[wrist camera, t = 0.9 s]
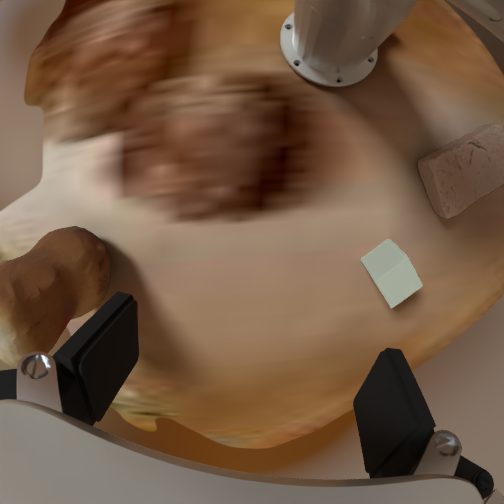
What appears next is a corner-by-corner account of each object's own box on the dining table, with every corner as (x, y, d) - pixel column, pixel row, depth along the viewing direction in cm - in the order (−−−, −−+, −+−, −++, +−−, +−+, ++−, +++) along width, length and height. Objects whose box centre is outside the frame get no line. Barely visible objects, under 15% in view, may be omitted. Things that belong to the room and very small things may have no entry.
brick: (486, 121, 28) (504, 121, 24) (502, 171, 31) (520, 175, 26) (410, 160, 33) (426, 162, 28) (431, 214, 35) (447, 223, 30)
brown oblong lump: (99, 305, 46) (13, 396, 22) (53, 249, 43) (-48, 315, 20) (142, 262, 42) (34, 366, 18) (89, 197, 39) (-43, 253, 16)
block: (388, 237, 37) (407, 256, 30) (403, 264, 38) (423, 286, 31) (360, 258, 38) (373, 280, 31) (376, 284, 39) (391, 308, 32)
